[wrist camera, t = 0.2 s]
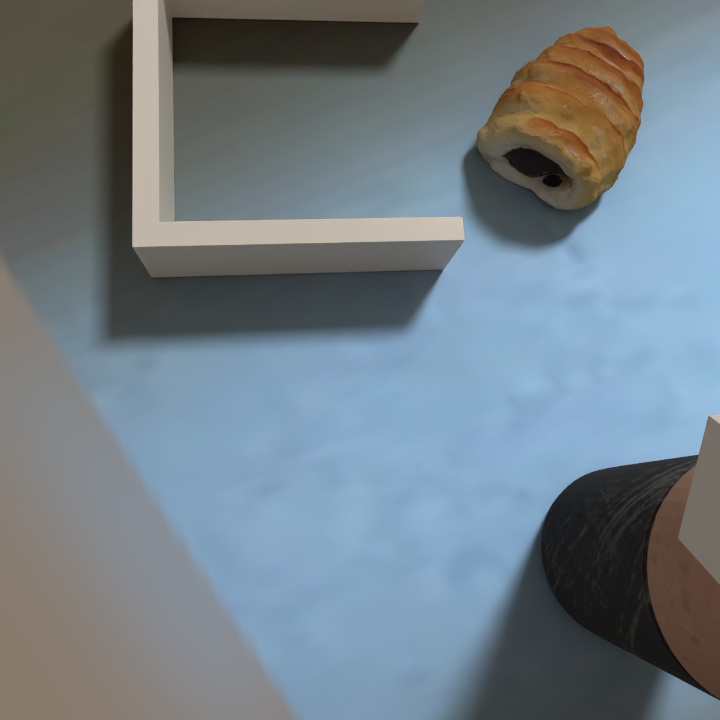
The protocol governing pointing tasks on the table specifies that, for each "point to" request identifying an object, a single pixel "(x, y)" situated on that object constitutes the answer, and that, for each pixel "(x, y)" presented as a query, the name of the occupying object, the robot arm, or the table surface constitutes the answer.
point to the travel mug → (636, 568)
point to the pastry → (568, 119)
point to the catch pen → (256, 237)
